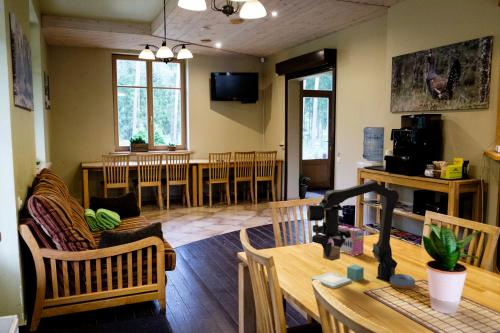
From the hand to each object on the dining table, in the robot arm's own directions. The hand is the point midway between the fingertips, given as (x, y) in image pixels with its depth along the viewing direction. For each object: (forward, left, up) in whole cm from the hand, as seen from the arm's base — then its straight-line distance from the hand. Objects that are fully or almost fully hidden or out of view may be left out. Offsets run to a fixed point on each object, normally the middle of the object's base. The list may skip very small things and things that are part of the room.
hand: (331, 255), depth 172 cm
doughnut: (-22, -19, -12) cm, 31 cm away
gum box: (+26, -40, -11) cm, 49 cm away
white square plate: (0, 0, -11) cm, 11 cm away
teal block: (-4, -11, -11) cm, 16 cm away
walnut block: (0, 0, -1) cm, 1 cm away
